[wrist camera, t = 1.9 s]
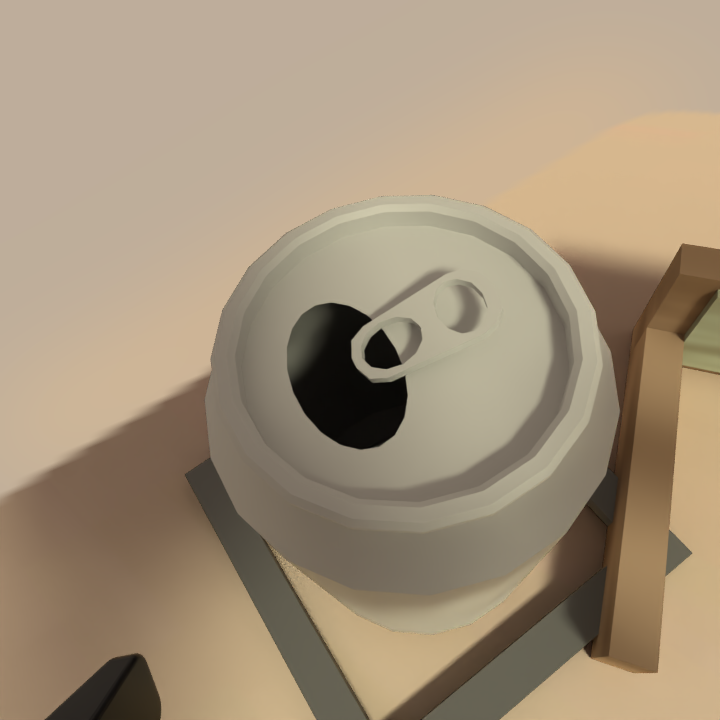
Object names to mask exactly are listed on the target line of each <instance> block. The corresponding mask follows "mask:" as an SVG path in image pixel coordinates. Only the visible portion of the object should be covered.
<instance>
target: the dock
mask: <svg viewBox="0 0 720 720" xmlns="http://www.w3.org/2000/svg"><path fill="white" fill-rule="evenodd" d="M682 367H685V368H690V369H694V370H699V371H704V372H709V373H714V374H718V375H720V249H714V248H707V247H701V246H695V245H689V244H682V245H681V247H680V249H679V250H678V252H677V254H676V256H675V257H674V259H673V261H672V263H671V264H670V266H669V268H668V270H667V271H666V273H665V275H664V276H663V278H662V280H661V282H660V283H659V285H658V287H657V289H656V290H655V292H654V294H653V296H652V297H651V299H650V301H649V303H648V304H647V306H646V308H645V310H644V311H643V313H642V315H641V317H640V318H639V320H638V322H637V324H636V325H635V327H634V329H633V333H632V341H631V349H630V356H629V364H628V372H627V380H626V387H625V395H624V403H623V411H622V419H621V426H620V434H619V442H618V450H617V457H616V465H615V473H614V474H615V475H616V476H617V477H618V483H617V491H616V499H615V507H614V515H613V522H612V523H611V524H610V525H609V526H608V527H607V535H606V543H605V551H604V558H603V566H602V568H604V567H605V566H607V571H606V579H605V587H604V595H603V603H602V611H601V619H600V627H599V634H598V635H597V636H596V637H595V638H594V639H593V644H592V652H591V659H594V660H597V661H600V662H603V663H606V664H609V665H612V666H615V667H618V668H621V669H624V670H626V671H629V672H632V673H658V661H659V649H660V636H661V624H662V611H663V599H664V586H665V574H666V561H667V549H668V536H669V524H670V511H671V499H672V486H673V474H674V462H675V449H676V437H677V424H678V412H679V399H680V387H681V374H682Z"/></svg>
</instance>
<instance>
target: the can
mask: <svg viewBox="0 0 720 720" xmlns="http://www.w3.org/2000/svg"><path fill="white" fill-rule="evenodd" d="M211 367H212V371H211V375H210V379H209V384H208V388H207V392H206V396H205V409H206V419H207V429H208V439H209V449H210V458H211V460H212V462H213V464H214V466H215V468H216V470H217V472H218V474H219V476H220V478H221V480H222V482H223V484H224V487H225V489H226V491H227V493H228V495H229V497H230V499H231V501H232V503H233V505H234V507H235V509H236V511H237V513H238V514H239V515H240V516H241V517H242V518H243V519H244V520H245V521H246V522H247V523H248V524H249V525H250V526H251V527H252V528H253V529H254V530H255V531H257V532H258V533H259V534H260V535H261V536H262V537H263V538H264V539H265V540H266V541H267V542H268V543H269V544H270V545H271V546H272V547H273V548H274V549H275V550H276V551H277V552H279V553H280V554H281V555H282V556H283V557H284V558H285V559H286V560H287V561H288V562H290V563H291V564H292V565H293V566H295V567H296V568H297V569H299V570H300V571H301V572H302V573H304V574H305V575H306V576H307V577H309V578H310V579H311V580H313V581H314V582H315V583H316V584H318V585H319V586H320V587H322V588H323V589H324V590H325V591H327V592H328V593H329V594H331V595H332V596H333V597H334V598H336V599H337V600H338V601H339V602H341V603H342V604H343V605H345V606H346V607H347V608H348V609H350V610H351V611H352V612H354V613H355V614H356V615H358V616H360V617H362V618H364V619H366V620H369V621H371V622H373V623H375V624H378V625H380V626H382V627H384V628H386V629H389V630H391V631H393V632H405V633H417V634H428V635H434V634H438V633H441V632H445V631H449V630H452V629H456V628H460V627H463V626H467V625H471V624H472V623H474V622H475V621H476V620H478V619H479V618H481V617H482V616H484V615H485V614H486V613H488V612H489V611H491V610H492V609H493V608H495V607H496V606H498V605H499V604H500V603H502V602H503V601H504V600H505V599H506V598H507V597H508V596H509V595H510V594H511V592H512V591H513V590H514V589H515V588H516V587H517V586H518V585H519V584H520V583H521V582H522V580H523V579H524V578H525V577H526V576H527V575H528V574H529V573H530V572H531V571H532V570H533V569H534V567H535V566H536V565H537V564H538V563H539V562H540V561H541V560H542V559H543V558H544V557H545V556H546V554H547V553H548V552H549V551H550V550H551V549H552V548H553V547H554V546H555V545H556V544H557V542H558V541H559V540H560V539H561V538H562V537H563V536H564V535H565V534H566V533H567V531H568V530H569V528H570V527H571V525H572V524H573V522H574V521H575V520H576V518H577V517H578V515H579V514H580V512H581V511H582V509H583V508H584V506H585V505H586V503H587V502H588V500H589V499H590V497H591V496H592V495H593V493H594V492H595V490H596V489H597V487H598V486H599V484H600V483H601V481H602V480H603V478H604V477H605V475H606V472H607V468H608V463H609V459H610V454H611V450H612V445H613V441H614V436H615V432H616V428H617V423H618V419H619V414H620V408H619V402H618V395H617V389H616V382H615V375H614V369H613V362H612V355H611V351H610V349H609V347H608V346H607V344H606V342H605V340H604V338H603V336H602V334H601V333H600V331H599V329H598V327H597V320H596V312H595V310H594V308H593V306H592V305H591V303H590V301H589V299H588V297H587V295H586V294H585V292H584V290H583V288H582V286H581V284H580V283H579V281H578V279H577V277H576V275H575V274H574V272H573V270H572V268H571V266H570V265H569V264H568V263H567V262H566V261H565V260H564V259H563V258H562V257H561V256H559V255H558V254H557V253H556V252H555V251H554V250H553V249H552V248H551V247H550V246H549V245H548V244H546V243H545V242H544V241H543V240H542V239H541V238H540V237H539V236H538V235H537V234H536V233H535V232H533V231H532V230H531V229H529V228H527V227H525V226H523V225H521V224H519V223H517V222H515V221H513V220H511V219H509V218H507V217H505V216H503V215H501V214H499V213H497V212H495V211H493V210H491V209H489V208H487V207H485V206H482V205H477V204H472V203H468V202H463V201H458V200H454V199H449V198H444V197H440V196H435V195H421V196H420V195H419V196H381V197H377V198H373V199H369V200H365V201H361V202H357V203H354V204H350V205H346V206H342V207H338V208H334V209H331V210H329V211H327V212H325V213H323V214H321V215H320V216H318V217H316V218H314V219H312V220H310V221H308V222H306V223H304V224H302V225H301V226H299V227H297V228H295V229H293V230H291V231H289V232H287V233H286V234H285V235H283V236H282V237H281V238H280V239H279V240H278V241H277V242H276V243H275V244H274V245H273V246H271V247H270V248H269V249H268V250H267V251H266V252H265V253H264V254H263V255H262V256H260V257H259V258H258V259H257V260H256V261H255V262H254V263H253V264H252V265H251V266H249V268H248V269H247V271H246V272H245V274H244V276H243V277H242V279H241V281H240V282H239V284H238V285H237V287H236V289H235V290H234V292H233V294H232V295H231V297H230V298H229V300H228V302H227V303H226V305H225V307H224V308H223V310H222V314H221V318H220V322H219V327H218V331H217V334H216V339H215V343H214V347H213V351H212V355H211Z"/></svg>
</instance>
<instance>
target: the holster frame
mask: <svg viewBox="0 0 720 720" xmlns="http://www.w3.org/2000/svg"><path fill="white" fill-rule="evenodd" d="M185 476H186V478H187V480H188V482H189V483H190V485H191V487H192V489H193V491H194V493H195V495H196V496H197V498H198V500H199V502H200V504H201V506H202V508H203V510H204V511H205V513H206V515H207V517H208V519H209V521H210V523H211V524H212V526H213V528H214V530H215V532H216V534H217V536H218V537H219V539H220V541H221V543H222V545H223V547H224V549H225V550H226V552H227V554H228V556H229V558H230V560H231V562H232V564H233V565H234V567H235V569H236V571H237V573H238V575H239V577H240V578H241V580H242V582H243V584H244V586H245V588H246V590H247V591H248V593H249V595H250V597H251V599H252V601H253V603H254V605H255V606H256V608H257V610H258V612H259V614H260V616H261V618H262V619H263V621H264V623H265V625H266V627H267V629H268V631H269V632H270V634H271V636H272V638H273V640H274V642H275V644H276V645H277V647H278V649H279V651H280V653H281V655H282V657H283V659H284V660H285V662H286V664H287V666H288V668H289V670H290V672H291V673H292V675H293V677H294V679H295V681H296V683H297V685H298V686H299V688H300V690H301V692H302V694H303V696H304V698H305V699H306V701H307V703H308V705H309V707H310V709H311V711H312V713H313V714H314V716H315V718H316V720H369V718H368V716H367V714H366V713H365V711H364V709H363V708H362V706H361V704H360V702H359V701H358V699H357V697H356V695H355V694H354V692H353V690H352V689H351V687H350V685H349V683H348V682H347V680H346V678H345V677H344V675H343V673H342V671H341V670H340V668H339V666H338V665H337V663H336V661H335V659H334V658H333V656H332V654H331V652H330V651H329V649H328V647H327V646H326V644H325V642H324V640H323V639H322V637H321V635H320V634H319V632H318V630H317V628H316V627H315V625H314V623H313V622H312V620H311V618H310V616H309V615H308V613H307V611H306V609H305V608H304V606H303V604H302V603H301V601H300V599H299V597H298V596H297V594H296V592H295V591H294V589H293V587H292V585H291V584H290V582H289V580H288V579H287V577H286V575H285V573H284V572H283V570H282V568H281V566H280V565H279V563H278V561H277V560H276V558H275V556H274V554H273V553H272V551H271V549H270V548H269V546H268V544H267V542H266V541H265V539H264V538H263V537H262V536H261V535H260V534H259V533H258V532H257V531H255V530H254V529H253V528H252V527H251V526H250V525H249V524H248V523H247V522H246V521H245V520H244V519H243V518H242V517H241V516H240V515H239V514H238V513H237V511H236V509H235V507H234V505H233V503H232V501H231V499H230V497H229V495H228V493H227V491H226V489H225V487H224V484H223V482H222V480H221V478H220V476H219V474H218V472H217V470H216V468H215V466H214V464H213V462H212V460H211V458H209V459H207V460H206V461H204V462H203V463H201V464H200V465H198V466H197V467H195V468H194V469H192V470H191V471H189V472H188V473H186V474H185ZM617 483H618V477H617V476H616V475H615V474H614V473H613V472H612V471H611V470H610V469H609V468H607V472H606V475H605V477H604V478H603V480H602V481H601V483H600V484H599V486H598V487H597V489H596V490H595V492H594V493H593V495H592V496H591V497H590V499H589V500H588V502H587V503H586V504H587V505H588V506H589V507H590V508H591V509H592V510H593V511H594V512H595V513H596V515H597V516H598V517H599V518H600V519H601V520H602V521H603V522H604V523H605V524H606V525H607V526H609V525H610V524H611V523H612V522H613V515H614V507H615V499H616V491H617ZM691 554H692V552H691V551H690V550H689V549H688V548H687V547H686V546H685V545H684V544H683V543H682V542H681V541H680V540H679V539H678V538H677V537H676V536H675V535H674V534H673V533H672V532H671V531H670V530H669V536H668V549H667V561H666V574H665V576H667V575H668V574H669V573H670V572H671V571H672V570H674V569H675V568H676V567H677V566H678V565H679V564H680V563H682V562H683V561H684V560H685V559H686V558H687V557H689V556H690V555H691ZM606 571H607V566H605V567H604V568H602V569H601V570H600V571H599V572H597V573H596V574H595V575H594V576H593V577H591V578H590V579H589V580H588V581H587V582H585V583H584V584H583V585H582V586H581V587H579V588H578V589H577V590H576V591H575V592H573V593H572V594H571V595H570V596H569V597H567V598H566V599H565V600H564V601H563V602H561V603H560V604H559V605H558V606H557V607H555V608H554V609H553V610H552V611H551V612H549V613H548V614H547V615H546V616H545V617H543V618H542V619H541V620H540V621H539V622H537V623H536V624H535V625H534V626H533V627H531V628H530V629H529V630H528V631H527V632H525V633H524V634H523V635H522V636H521V637H519V638H518V639H517V640H516V641H515V642H513V643H512V644H511V645H510V646H509V647H507V648H506V649H505V650H504V651H503V652H501V653H500V654H499V655H498V656H497V657H495V658H494V659H493V660H492V661H491V662H489V663H488V664H487V665H486V666H485V667H483V668H482V669H481V670H480V671H479V672H477V673H476V674H475V675H474V676H473V677H471V678H470V679H469V680H468V681H467V682H465V683H464V684H463V685H462V686H461V687H459V688H458V689H457V690H456V691H455V692H453V693H452V694H451V695H450V696H449V697H447V698H446V699H445V700H444V701H443V702H441V703H440V704H439V705H438V706H437V707H435V708H434V709H433V710H432V711H431V712H429V713H428V714H427V715H426V716H425V717H423V718H422V719H421V720H500V719H501V718H502V717H503V716H504V715H505V714H507V713H508V712H509V711H510V710H511V709H512V708H513V707H515V706H516V705H517V704H518V703H519V702H520V701H522V700H523V699H524V698H525V697H526V696H527V695H529V694H530V693H531V692H532V691H533V690H534V689H536V688H537V687H538V686H539V685H540V684H541V683H542V682H544V681H545V680H546V679H547V678H548V677H549V676H551V675H552V674H553V673H554V672H555V671H556V670H558V669H559V668H560V667H561V666H562V665H563V664H565V663H566V662H567V661H568V660H569V659H570V658H571V657H573V656H574V655H575V654H576V653H577V652H578V651H580V650H581V649H582V648H583V647H584V646H585V645H587V644H588V643H589V642H590V641H591V640H592V639H594V638H595V637H596V636H597V635H598V634H599V627H600V619H601V611H602V603H603V595H604V587H605V579H606Z"/></svg>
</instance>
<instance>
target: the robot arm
mask: <svg viewBox="0 0 720 720" xmlns="http://www.w3.org/2000/svg"><path fill="white" fill-rule="evenodd" d="M160 718H161V702H160V697H159V694H158V691H157V689H156V686H155V683H154V680H153V678H152V675H151V672H150V670H149V667H148V664H147V662H146V660H145V658H144V657H143V656H142V655H141V654H138V653H136V654H130V655H125V656H120V657H116V658H113V659H111V660H109V661H108V662H107V663H106V664H105V665H103V666H102V667H101V668H100V669H99V670H98V671H97V672H96V673H95V674H94V675H93V676H92V677H91V678H89V679H88V680H87V681H86V682H85V683H84V684H83V685H82V686H81V687H80V688H79V689H78V690H76V691H75V692H74V693H73V694H72V695H71V696H70V697H69V698H68V699H67V700H66V701H65V702H64V703H62V704H61V705H60V706H59V707H58V708H57V709H56V710H55V711H54V712H53V713H52V714H51V715H49V716H48V717H47V718H46V719H45V720H160Z"/></svg>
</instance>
